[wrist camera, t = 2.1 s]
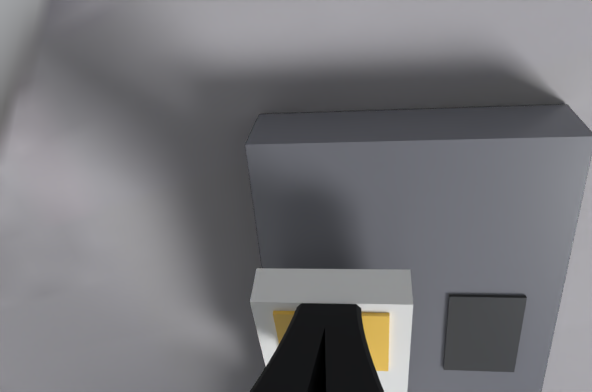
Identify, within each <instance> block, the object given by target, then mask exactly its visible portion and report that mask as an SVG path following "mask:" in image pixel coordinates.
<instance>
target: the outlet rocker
mask: <svg viewBox="0 0 592 392" xmlns="http://www.w3.org/2000/svg"><path fill="white" fill-rule="evenodd" d="M301 303H321V304H357V305H358V306H359V307H360V308H361V312H362V322H363V328H364V332H365V337H366V340H367V344H368V348H369V351H370V354H371V357H372V360H373V363H374V366H375V369H376V371H377V374H378V377H379V380H380V382H381V385H382V387H383V390H384V392H407V389H408V374H409V360H410V345H411V330H412V315H413V296H412V283H411V271H410V270H402V269H278V268H257V269H256V273H255V278H254V283H253V288H252V293H251V298H250V305H251V309H252V313H253V317H254V321H255V325H256V329H257V333H258V338H259V342H260V346H261V350H262V354H263V358H264V362H265V366H267V364H268V362H269V361H270V359H271V357H272V356H273V354H274V352H275V351H276V349H277V347H278V345H279V343H280V341H281V340H282V338H283V336H284V334H285V332H286V330H287V328H288V326H289V324H290V322H291V320H292V317H293V315H294V313H295V310H296V308H297V306H299V305H300V304H301Z"/></svg>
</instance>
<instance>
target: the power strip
mask: <svg viewBox="0 0 592 392" xmlns="http://www.w3.org/2000/svg"><path fill="white" fill-rule="evenodd" d="M245 148H246V155H247V163H248V170H249V177H250V185H251V192H252V199H253V207H254V214H255V221H256V229H257V236H258V243H259V251H260V258H261V265H262V268H278V269H402V270H410V271H411V283H412V296H413V315H412V330H411V345H410V360H409V374H408V389H407V392H541V391H542V386H543V381H544V377H545V372H546V367H547V363H548V358H549V353H550V349H551V344H552V339H553V334H554V330H555V325H556V320H557V316H558V311H559V306H560V302H561V297H562V292H563V287H564V283H565V278H566V273H567V269H568V264H569V259H570V255H571V250H572V245H573V240H574V236H575V231H576V226H577V222H578V217H579V212H580V208H581V203H582V198H583V194H584V189H585V184H586V179H587V175H588V170H589V165H590V161H591V156H592V132H591V130H590V129H589V128H588V127H587V126H586V125H585V124H584V123H583V121H582V120H581V119H580V118H579V117H578V116H577V115H576V114H575V113H574V111H573V110H572V109H571V108H570V107H569V106H568V105H567V104H566V105H535V106H503V107H472V108H441V109H409V110H378V111H347V112H316V113H284V114H259V116H258V118H257V120H256V122H255V124H254V127H253V129H252V131H251V133H250V135H249V137H248V139H247V142H246V144H245Z"/></svg>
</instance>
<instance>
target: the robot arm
mask: <svg viewBox="0 0 592 392" xmlns="http://www.w3.org/2000/svg"><path fill="white" fill-rule="evenodd" d="M250 392H384V390H383V387H382V385H381V382H380V380H379V377H378V374H377V371H376V369H375V366H374V363H373V360H372V357H371V354H370V351H369V348H368V344H367V340H366V337H365V332H364V328H363V322H362V312H361V308H360V307H359V306H358V305H357V304H321V303H301V304H300V305H299V306H297V308H296V310H295V313H294V315H293V317H292V320H291V322H290V324H289V326H288V328H287V330H286V332H285V334H284V336H283V338H282V340H281V341H280V343H279V345H278V347H277V349H276V351H275V352H274V354H273V356H272V357H271V359H270V361H269V362H268V364H267V366H266V367H265V369H264V371H263V372H262V374H261V376H260V377H259V379H258V380H257V382H256V383H255V385H254V386H253V388H252V389H251V390H250Z"/></svg>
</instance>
